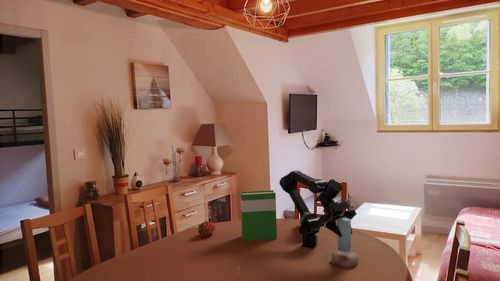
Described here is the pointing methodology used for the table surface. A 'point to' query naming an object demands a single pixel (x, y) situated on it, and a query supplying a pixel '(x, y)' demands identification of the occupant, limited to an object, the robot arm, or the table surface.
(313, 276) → the table surface
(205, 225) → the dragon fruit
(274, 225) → the hardback book
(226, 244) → the table surface
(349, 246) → the blue-grey cylinder
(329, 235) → the table surface
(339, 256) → the walnut base
